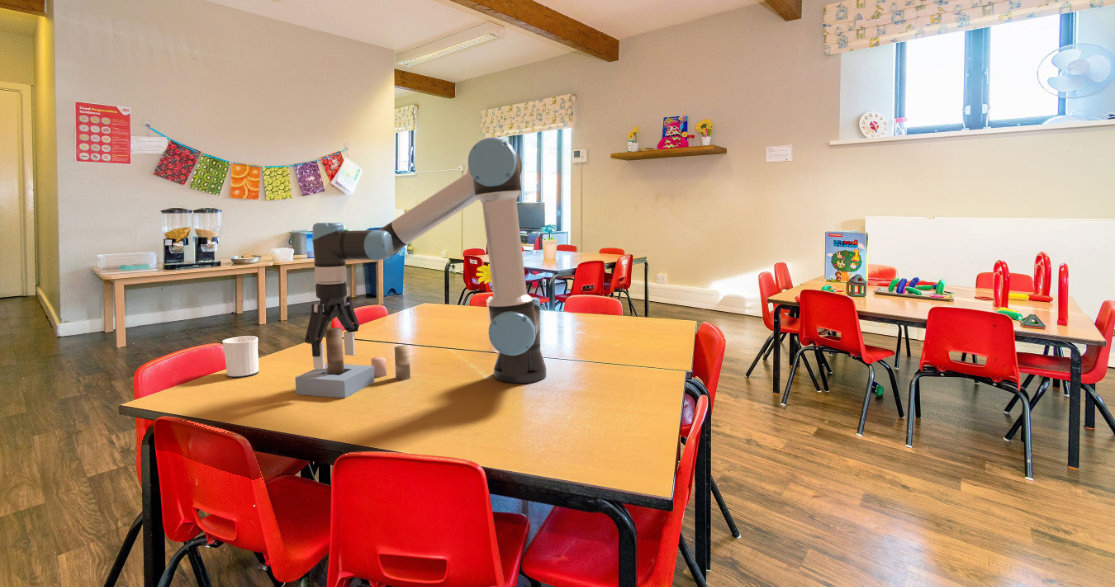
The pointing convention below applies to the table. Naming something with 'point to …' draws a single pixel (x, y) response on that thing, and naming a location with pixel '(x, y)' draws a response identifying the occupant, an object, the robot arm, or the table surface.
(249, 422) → the table surface
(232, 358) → the mug
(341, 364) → the pin long
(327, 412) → the table surface
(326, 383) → the socket
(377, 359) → the pin short
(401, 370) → the pin medium
